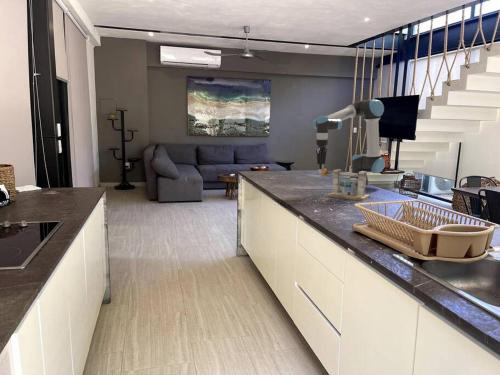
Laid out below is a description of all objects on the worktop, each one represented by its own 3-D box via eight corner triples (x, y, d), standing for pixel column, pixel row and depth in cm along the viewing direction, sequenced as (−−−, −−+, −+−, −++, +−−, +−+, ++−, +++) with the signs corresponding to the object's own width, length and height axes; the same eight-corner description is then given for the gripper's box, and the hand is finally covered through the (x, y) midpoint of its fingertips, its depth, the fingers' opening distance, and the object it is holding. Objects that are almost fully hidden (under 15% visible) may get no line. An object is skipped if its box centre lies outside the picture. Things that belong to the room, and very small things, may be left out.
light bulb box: (343, 196, 245) (344, 179, 243) (338, 194, 251) (339, 178, 250) (358, 195, 248) (359, 179, 246) (353, 193, 254) (353, 177, 252)
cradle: (335, 193, 262) (336, 168, 259) (369, 197, 249) (371, 170, 245) (327, 196, 251) (328, 170, 248) (362, 201, 237) (364, 173, 234)
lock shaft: (324, 175, 260) (324, 168, 259) (358, 178, 246) (358, 170, 246) (321, 176, 256) (321, 169, 255) (355, 179, 242) (356, 171, 242)
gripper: (321, 138, 262) (320, 172, 266) (312, 139, 251) (311, 174, 256) (331, 138, 257) (330, 173, 262) (323, 139, 247) (322, 175, 251)
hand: (321, 173), depth 259 cm, fingers closed
